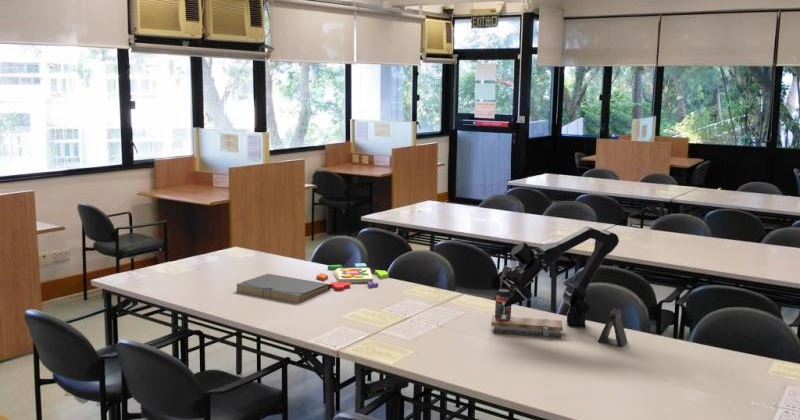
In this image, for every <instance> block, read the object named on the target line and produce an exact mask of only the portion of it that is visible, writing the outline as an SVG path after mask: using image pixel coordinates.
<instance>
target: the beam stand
mask: <svg viewBox="0 0 800 420" xmlns="http://www.w3.org/2000/svg"><path fill="white" fill-rule="evenodd" d="M545 319H546V320H549V318H545ZM493 327H494V328H493V334H498V335H500V334H501V335H511V336H512V335H513V336H523V337H536V338H537V337H538V338H549V339H559V340H560V331H550V330H549V328H548V327H543V330H537V329H524V328H511V327H498V326H493Z"/></svg>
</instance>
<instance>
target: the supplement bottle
mask: <svg viewBox="0 0 800 420" xmlns="http://www.w3.org/2000/svg"><path fill="white" fill-rule="evenodd" d="M498 290H499V289H498ZM510 293H511V292H510V291H509V290H507V289H500V290H499V295H497V296H496V295H495V296H496V299H495V306H494V307H495V308H494V310H495V311H494V316H495V319H496V320H499V321H509V320H510V319H511V317H512V316H511V315H512V305H510V306H508V307H505V306H504V304H505V303H506V301H507V300H508V299H509V297H510V296H511V295H510Z"/></svg>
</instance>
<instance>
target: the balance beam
mask: <svg viewBox="0 0 800 420" xmlns="http://www.w3.org/2000/svg"><path fill="white" fill-rule="evenodd" d="M546 319H547V318H542V319H541V318H531V317H529V318H528V317H520V316H519V317H516V316H511V319H510V320H509V321H499V320H496V319H495V315H492V317H491V322H490V324H491V327H494V326H498V327H511V328H524V329H537V330H543V327H548V328H549V330H550V331H559V332H563V330H564V327H563V325H564V324H563V320H560V319H559V320H555V319H548V320H546Z"/></svg>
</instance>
